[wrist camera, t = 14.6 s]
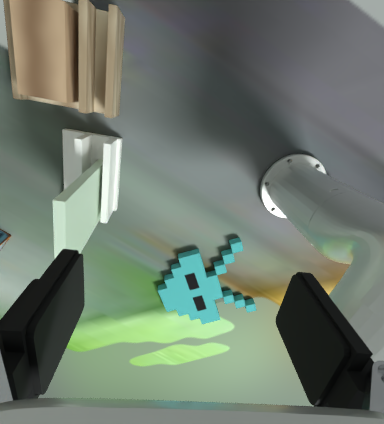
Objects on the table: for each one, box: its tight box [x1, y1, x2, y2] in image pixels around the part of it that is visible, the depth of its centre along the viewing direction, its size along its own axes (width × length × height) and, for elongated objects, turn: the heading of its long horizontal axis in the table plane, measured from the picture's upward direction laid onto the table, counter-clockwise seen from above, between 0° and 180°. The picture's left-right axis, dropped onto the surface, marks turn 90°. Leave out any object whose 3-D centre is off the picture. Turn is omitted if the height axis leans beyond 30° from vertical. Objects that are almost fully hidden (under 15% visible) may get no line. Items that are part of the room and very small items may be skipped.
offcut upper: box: [9, 0, 73, 103], centre depth 32 cm, size 6×11×2 cm, turn 169°
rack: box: [3, 0, 125, 118], centre depth 34 cm, size 14×13×6 cm
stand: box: [62, 128, 122, 223], centre depth 41 cm, size 9×13×6 cm
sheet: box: [53, 159, 103, 258], centre depth 36 cm, size 1×10×18 cm, turn 169°
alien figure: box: [158, 238, 256, 324], centre depth 56 cm, size 20×2×20 cm
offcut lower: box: [72, 8, 79, 102], centre depth 34 cm, size 6×11×2 cm, turn 169°
